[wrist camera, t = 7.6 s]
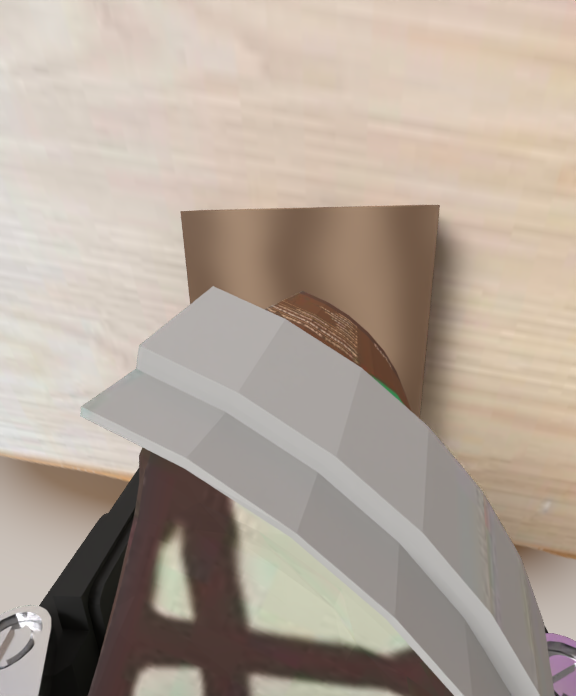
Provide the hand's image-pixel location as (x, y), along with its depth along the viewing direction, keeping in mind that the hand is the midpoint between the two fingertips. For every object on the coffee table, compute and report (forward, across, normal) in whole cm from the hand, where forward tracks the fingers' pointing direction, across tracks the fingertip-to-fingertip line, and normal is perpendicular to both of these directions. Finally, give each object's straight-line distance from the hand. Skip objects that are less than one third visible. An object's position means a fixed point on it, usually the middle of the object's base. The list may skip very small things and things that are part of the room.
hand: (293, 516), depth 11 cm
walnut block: (+19, 0, 0) cm, 19 cm away
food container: (+3, -2, 0) cm, 4 cm away
